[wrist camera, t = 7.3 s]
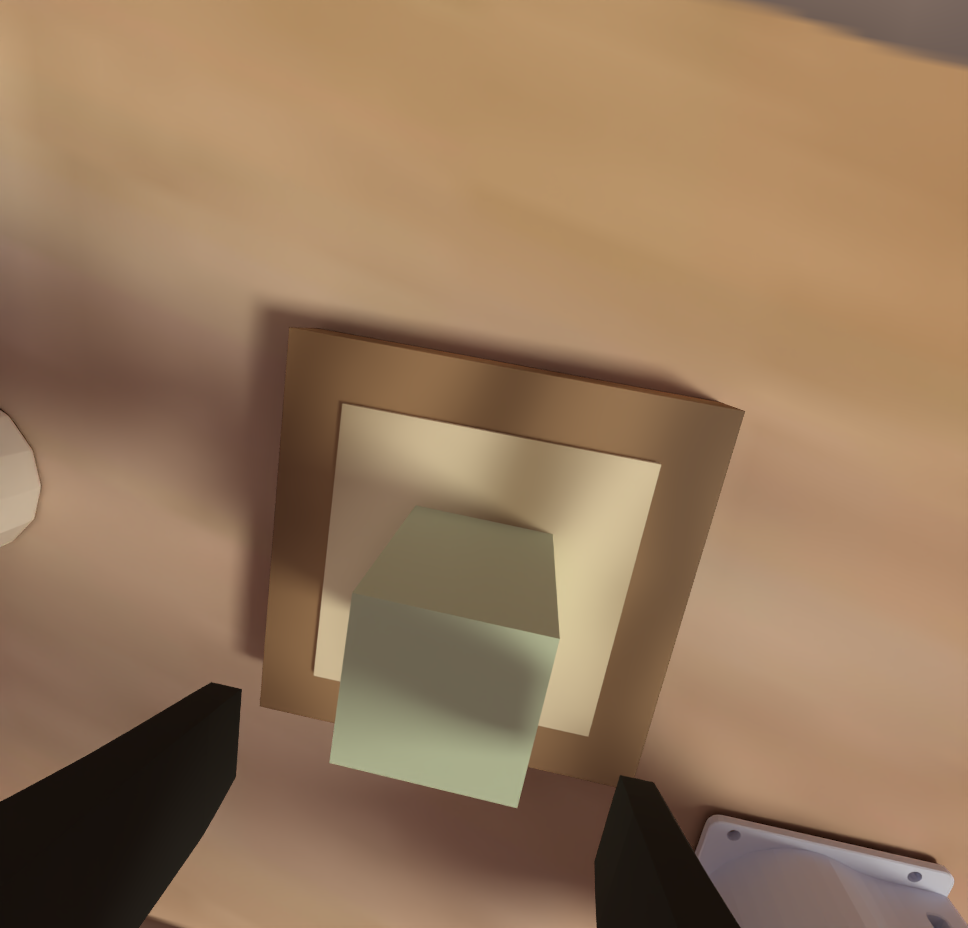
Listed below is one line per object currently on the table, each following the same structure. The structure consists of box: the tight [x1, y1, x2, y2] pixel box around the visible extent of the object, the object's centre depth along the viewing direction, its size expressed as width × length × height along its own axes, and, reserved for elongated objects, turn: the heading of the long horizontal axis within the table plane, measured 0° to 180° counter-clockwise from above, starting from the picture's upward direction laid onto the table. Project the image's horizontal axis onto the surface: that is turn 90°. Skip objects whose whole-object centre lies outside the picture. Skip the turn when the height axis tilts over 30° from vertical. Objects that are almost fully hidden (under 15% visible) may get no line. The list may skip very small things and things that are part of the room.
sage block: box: [329, 505, 560, 808], centre depth 15 cm, size 4×4×6 cm
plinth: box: [260, 327, 745, 787], centre depth 19 cm, size 14×14×2 cm
